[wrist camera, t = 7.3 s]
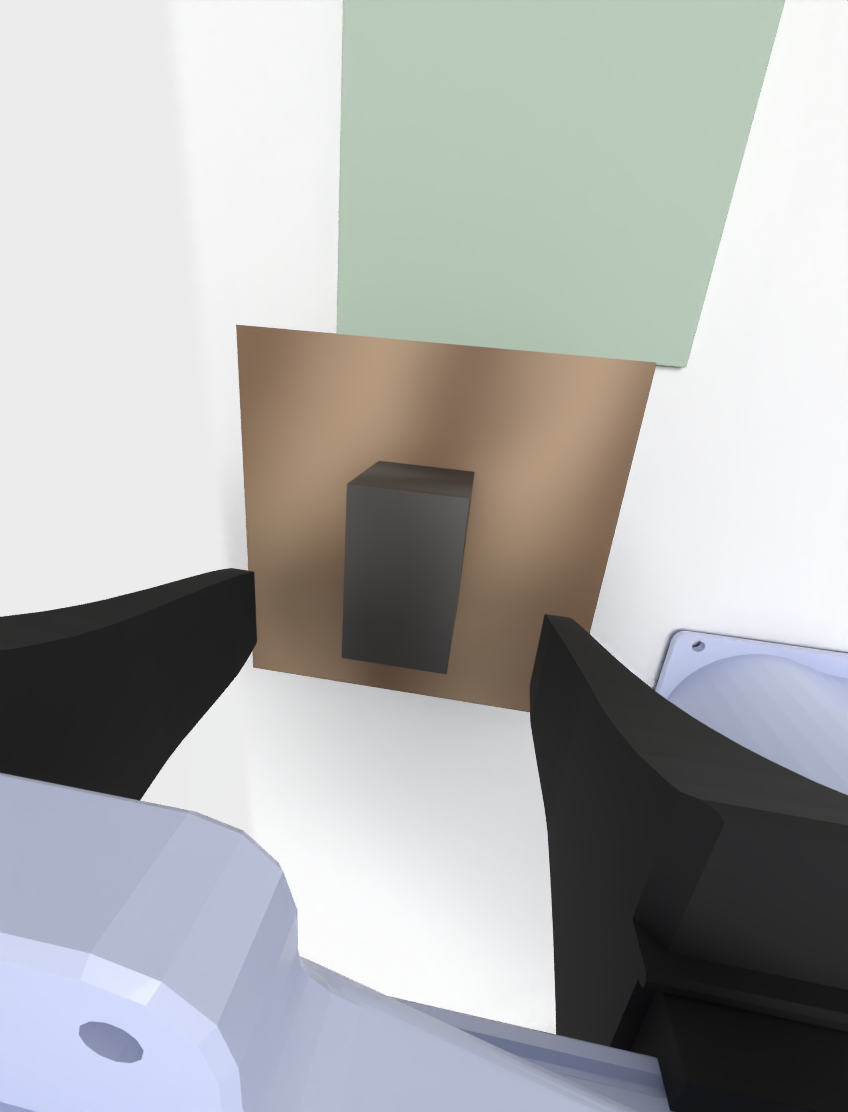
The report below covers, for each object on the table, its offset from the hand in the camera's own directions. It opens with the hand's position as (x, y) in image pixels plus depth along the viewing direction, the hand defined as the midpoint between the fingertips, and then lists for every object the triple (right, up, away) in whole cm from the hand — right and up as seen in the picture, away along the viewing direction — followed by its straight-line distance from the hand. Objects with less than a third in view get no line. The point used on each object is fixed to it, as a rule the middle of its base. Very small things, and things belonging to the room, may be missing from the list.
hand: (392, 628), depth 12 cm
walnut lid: (+1, +3, +5) cm, 5 cm away
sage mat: (+4, +16, +4) cm, 17 cm away
